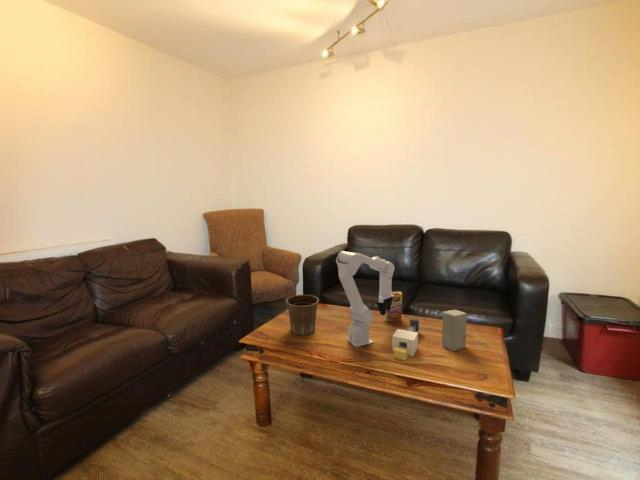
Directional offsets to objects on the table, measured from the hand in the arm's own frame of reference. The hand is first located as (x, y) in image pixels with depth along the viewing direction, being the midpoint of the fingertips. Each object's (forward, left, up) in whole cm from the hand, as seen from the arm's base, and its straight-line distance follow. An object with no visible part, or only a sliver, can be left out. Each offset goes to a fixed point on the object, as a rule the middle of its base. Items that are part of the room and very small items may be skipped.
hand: (385, 312), depth 156 cm
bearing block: (-3, -19, -10) cm, 22 cm away
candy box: (+12, +10, -10) cm, 19 cm away
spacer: (-8, -22, -8) cm, 25 cm away
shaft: (+5, -13, -8) cm, 16 cm away
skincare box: (+18, -26, -10) cm, 33 cm away
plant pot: (-36, +19, -10) cm, 42 cm away
